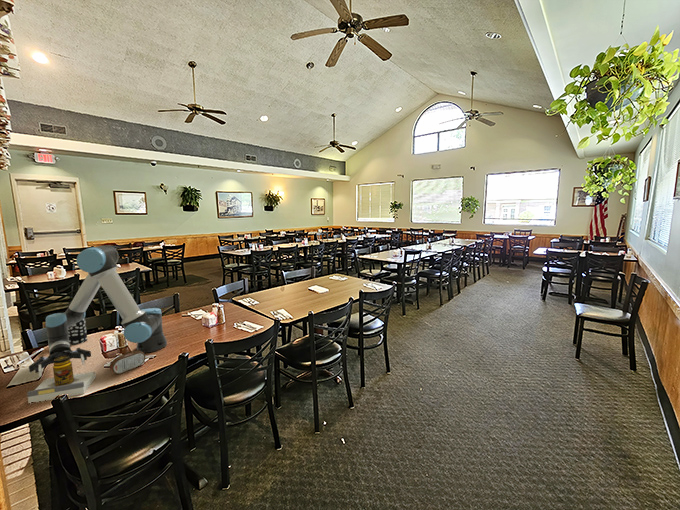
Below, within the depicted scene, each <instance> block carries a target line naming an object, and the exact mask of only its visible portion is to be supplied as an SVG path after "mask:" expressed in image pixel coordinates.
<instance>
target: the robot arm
mask: <svg viewBox="0 0 680 510" xmlns="http://www.w3.org/2000/svg"><path fill="white" fill-rule="evenodd" d="M119 257H120V256H119V252H118V250H117V249H116V248H114V247H113V246H111V245H105V244H103V245H98V246H92V247H91V246H90V247H88V248H86V249H84V250H81V251H80V252H79V253H78V255H77V257H76V265H77V267H78V268H79V269H80V270H81V271H82V272H86V273H87V275H86V277H85V278H84V280H83V281H82V283H81V285H80V286H79V289H78V290H77V292H76V294H75V296H74V297H73V298H72V300H71V302H70V304H69V305H68V307H67V309H66V310H65V311H66V312H57V313H52V314H49V315H47V316H46V317H45V329H46V334H47V342H48V343H47V344H48V345H47V346H48V351H49V353H48V356H43V355H42V356H39V358H38V359H37V360H35V361H34V362H33V363H31V364H30V365H29V366H28V371H29V372H30V373H33V372H35V374H38V376H39V378H41V377H42V376H43V369H45V367H47V366H49V365H51V364H53V365H54V362H53V360H54V359H56V358H58V357H61V356H69V357H70V360H72V359H80V360H81V363H82V366H85V364H86V363H85V361H87V360H88V358H91V357H92V352H91V350H86V349H82V348H80V347H76V349H75V350H72V349H71V345H70V344H69V336H68V328H69V327H71V326H72V325H74V324H76V323H77V322H80V321H81V320H82V319H83V318H84V317H85V318H86V311H87V309H88V307H89V305H91V302H92V301H93V299H94V298H95V296H96V294H97V292H98V291H99V289H100V287H102V289H103V292H104V293H105V294H106V295H107V297H108V299H109V300H110V302H111V303H112V305H113V306H114V308H115V309H116V311H117V313H118V314H119V316H120V317H121V319H122V320H121V323H120V324H121V326H122V327H123V328H124V330H123V337H124V338H125V340H126V341H127V342H130V343H132V344H133V343H135V344H136V351H142V352H143V353H144V354H145V353H152V352H157V351H159V349H160V350H161V348H162V349H163V347H164V348H165V347H167V345H168V340H167V337H166V335H165V333H164V331H163V330H164V329H163V328H164V327H163V316H162V315H163V314H162V310H161V308H158V307H153V308H152V307H149V308H144V309H140V307H139V306H138V304H137V302H136V301H135V299H134V297H133V296H132V294H131V292H130V291H129V290H128V288H127V286H126V285H125V283H124V281H123V279H122V278H121V277H120V275H119V273H118V272H117V270H118V265H117V263H118V261H119Z"/></svg>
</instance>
